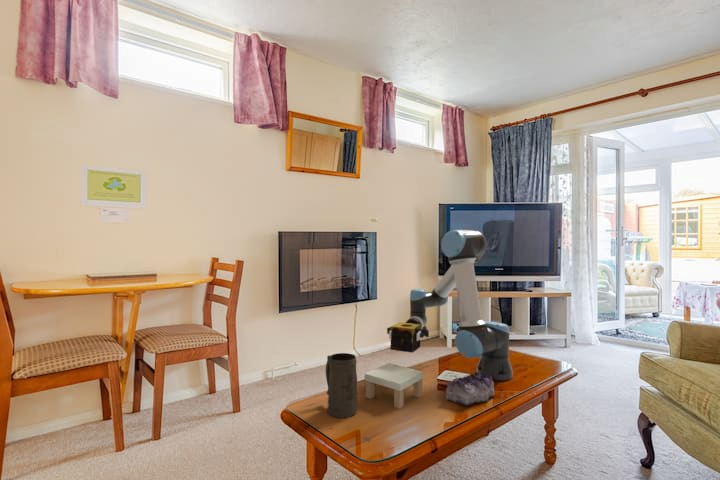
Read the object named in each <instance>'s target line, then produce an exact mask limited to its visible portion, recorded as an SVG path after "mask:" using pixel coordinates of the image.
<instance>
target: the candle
mask: <svg viewBox="0 0 720 480" xmlns="http://www.w3.org/2000/svg"><path fill="white" fill-rule="evenodd" d="M390 327H391V333H392V337H391V339H390V350H391V351H399V352H405V353H414V352H415V351H417V350H418V349H419V348H421V339H420V340H419V341H417V333H418V332H419V331H420V327H421V326H420V324H412V323H406V322H400V321H399V322H397V323H395V324H393V325H391V326H390Z"/></svg>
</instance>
